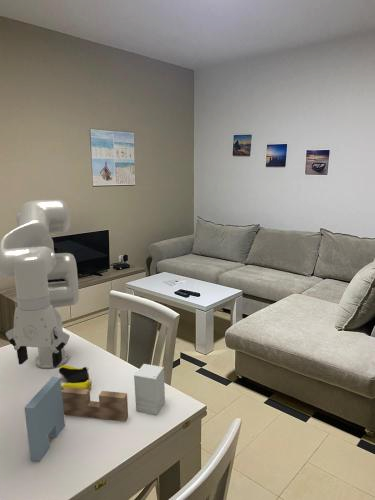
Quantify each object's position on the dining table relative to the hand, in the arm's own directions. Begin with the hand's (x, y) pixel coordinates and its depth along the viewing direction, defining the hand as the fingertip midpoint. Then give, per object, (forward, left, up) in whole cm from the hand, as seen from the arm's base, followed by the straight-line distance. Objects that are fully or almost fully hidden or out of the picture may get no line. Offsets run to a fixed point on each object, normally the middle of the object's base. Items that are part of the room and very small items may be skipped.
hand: (40, 363), depth 100 cm
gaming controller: (-22, +16, -25) cm, 37 cm away
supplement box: (+3, +31, -25) cm, 40 cm away
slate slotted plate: (0, 0, -25) cm, 25 cm away
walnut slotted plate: (-3, +15, -25) cm, 29 cm away
